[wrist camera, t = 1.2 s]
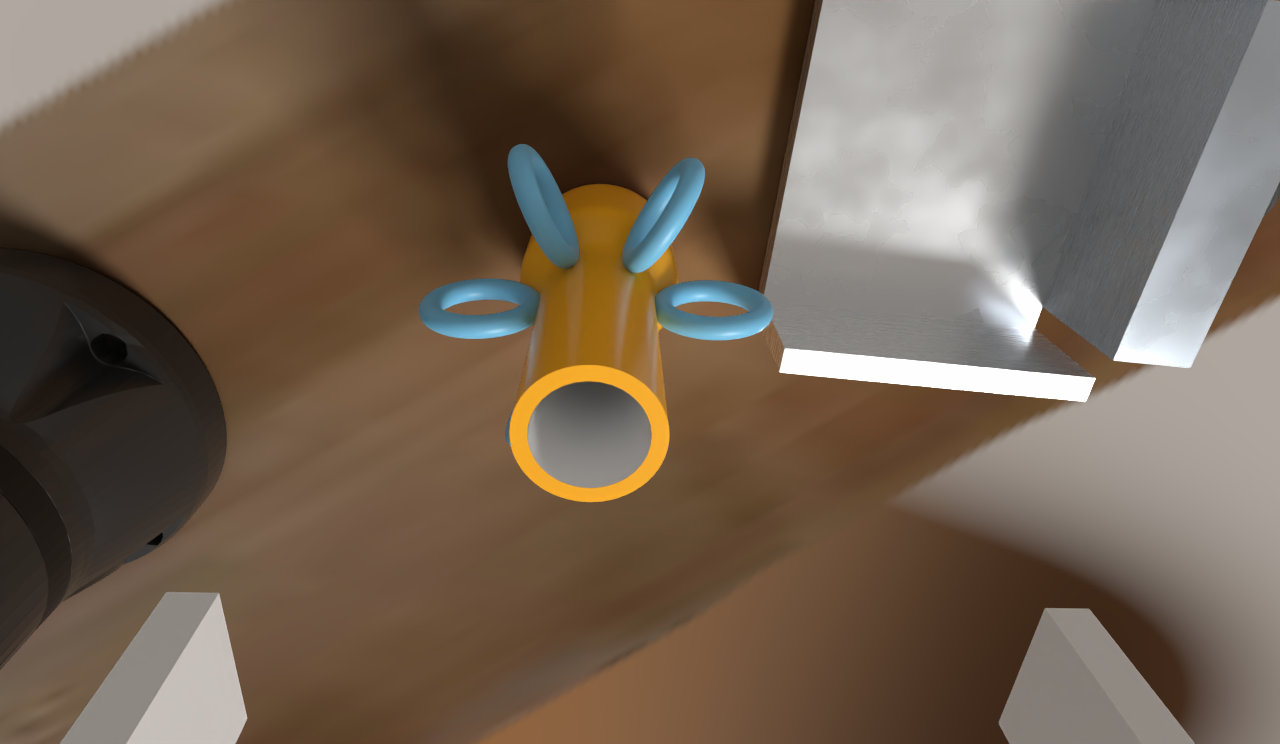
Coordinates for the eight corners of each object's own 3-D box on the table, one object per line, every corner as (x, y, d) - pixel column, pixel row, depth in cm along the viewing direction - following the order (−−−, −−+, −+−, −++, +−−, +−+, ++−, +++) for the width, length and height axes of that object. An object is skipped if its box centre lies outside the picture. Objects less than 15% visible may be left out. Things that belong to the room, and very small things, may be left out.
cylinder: (569, 47, 29) (528, 100, 16) (786, 198, 32) (907, 352, 19) (423, 302, 34) (294, 512, 20) (624, 414, 36) (628, 665, 23)
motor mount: (754, 311, 34) (781, 378, 28) (836, -111, 27) (896, -137, 21) (1118, 348, 35) (1216, 419, 30) (1288, -46, 28) (1461, -54, 23)
